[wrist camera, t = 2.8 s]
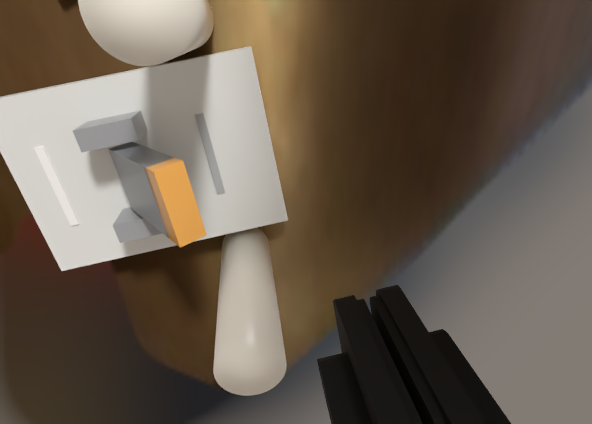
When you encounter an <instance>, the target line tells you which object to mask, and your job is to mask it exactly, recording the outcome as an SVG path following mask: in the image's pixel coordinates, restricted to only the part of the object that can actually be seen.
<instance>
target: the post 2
mask: <svg viewBox="0 0 592 424" xmlns="http://www.w3.org/2000/svg"><path fill="white" fill-rule="evenodd" d="M286 368H287V363H286V356H285V350H284V343H283V336H282V329H281V323H280V316H279V309H278V302H277V296H276V289H275V282H274V275H273V269H272V262H271V255H270V248H269V242H268V238H267V236H266V235H265V233H264V232H263V231H261V230H260V229H259V228H252V229H248V230H243V231H239V232H234V233H230V234H226V235H225V237H224V239H223V242H222V254H221V268H220V282H219V297H218V311H217V325H216V339H215V353H214V367H213V373H214V377H215V379H216V381H217V383H218V384H219V385H220V386H221V387H222V388H223V389H225V390H226V391H228V392H230V393H233V394H237V395H244V396H250V395H257V394H261V393H264V392H266V391H269V390H270V389H272V388H274V387H275V386H276V385H277V384H278V383H279V382H280V381H281V380H282V379H283V377H284V375H285V372H286Z"/></svg>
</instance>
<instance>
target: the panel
mask: <svg viewBox="0 0 592 424" xmlns="http://www.w3.org/2000/svg"><path fill="white" fill-rule="evenodd" d="M129 142H134V143H137V144H140V145H142V146H145V147H148V148H150V149H153V150H156V151H158V152H161V153H164V154H166V155H169V156H172V157H174V158H177V159H180V160H182V161H183V162H184V165H185V168H186V171H187V174H188V177H189V181H190V184H191V187H192V190H193V193H194V197H195V200H196V203H197V206H198V209H199V212H200V216H201V219H202V222H203V225H204V228H205V231H206V236H204V237H202V238H200V239H198V240H203V239H207V238H212V237H216V236H221V235H225V234H230V233H234V232H239V231H243V230H248V229H252V228H257V227H261V226H266V225H270V224H275V223H279V222H283V221H288V217H287V212H286V208H285V203H284V198H283V194H282V189H281V184H280V179H279V175H278V170H277V165H276V161H275V156H274V151H273V147H272V142H271V137H270V132H269V128H268V123H267V118H266V114H265V109H264V104H263V99H262V95H261V90H260V85H259V81H258V76H257V71H256V67H255V62H254V57H253V52H252V48H251V46H248V47H243V48H238V49H233V50H228V51H223V52H218V53H213V54H208V55H203V56H198V57H194V58H189V59H184V60H179V61H174V62H169V63H164V64H159V65H154V66H149V67H144V68H139V69H134V70H130V71H125V72H120V73H115V74H110V75H105V76H100V77H95V78H90V79H85V80H80V81H75V82H70V83H65V84H61V85H56V86H51V87H46V88H41V89H36V90H31V91H26V92H21V93H16V94H11V95H6V96H1V97H0V152H1V154H2V156H3V158H4V160H5V162H6V164H7V166H8V168H9V169H10V171H11V173H12V175H13V177H14V179H15V181H16V183H17V185H18V187H19V189H20V191H21V193H22V195H23V197H24V199H25V201H26V203H27V205H28V207H29V208H30V210H31V212H32V214H33V216H34V218H35V220H36V222H37V224H38V226H39V228H40V230H41V232H42V234H43V236H44V238H45V240H46V241H47V243H48V245H49V247H50V249H51V251H52V253H53V255H54V257H55V259H56V261H57V263H58V265H59V267H60V269H61V271H64V270H68V269H73V268H77V267H82V266H86V265H91V264H95V263H100V262H104V261H109V260H113V259H118V258H122V257H127V256H131V255H136V254H140V253H145V252H149V251H154V250H158V249H163V248H167V247H172V246H176V244H175V243H174V242H173V241H171V240H170V239H169V238H168V237H166V236H165V235H164V234H163V233H161V232H160V231H159V230H158V229H156V228H155V227H154V226H153V225H152V224H150V223H149V222H148V221H147V220H145V219H144V218H143V217H142V216H140V215H139V214H138V213H137V212H135V211H134V210H133V209H132V208H131V206H130V203H129V201H128V198H127V196H126V193H125V191H124V188H123V185H122V183H121V180H120V178H119V175H118V173H117V170H116V168H115V165H114V163H113V160H112V158H111V155H110V152H109V150H108V149H110V148H113V147H116V146H119V145H122V144H126V143H129ZM198 240H196V241H198ZM193 242H194V241H193Z"/></svg>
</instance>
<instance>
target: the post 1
mask: <svg viewBox="0 0 592 424" xmlns="http://www.w3.org/2000/svg"><path fill="white" fill-rule="evenodd" d="M78 4H79V9H80V13H81V16H82V19H83V21H84V24H85V26H86V28H87V29H88V31H89V33H90V34H91V36H92V37H93V39H94V40H95V41H96V42H97V43H98V44H99V45H100V46H101V47H102V48H103V49H104V50H105V51H106V52H108V53H109V54H110V55H112V56H113V57H115V58H117V59H119V60H121V61H123V62H126V63H129V64H133V65H138V66H152V65H158V64H161V63H164V62H166V61H169V60H171V59H173V58H176V57H178V56H180V55H183V54H185V53H187V52H190V51H192V50H194V49H197V48H199V47H201V46H202V45H203V44H205V43H206V42H207V41H208V39H209V38H210V36H211V34H212V31H213V27H214V15H213V11H212V8H211V5H210V3H209V2H208V0H78Z"/></svg>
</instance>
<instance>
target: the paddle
mask: <svg viewBox="0 0 592 424" xmlns="http://www.w3.org/2000/svg"><path fill="white" fill-rule="evenodd" d="M108 150H109V152H110V155H111V158H112V160H113V163H114V165H115V168H116V170H117V173H118V175H119V178H120V180H121V183H122V185H123V188H124V191H125V193H126V196H127V198H128V201H129V203H130V206H131V208H132V209H133V210H134V211H135V212H137V213H138V214H139V215H140V216H142V217H143V218H144V219H145V220H147V221H148V222H149V223H150V224H152V225H153V226H154V227H155V228H156V229H158V230H159V231H160V232H161V233H163V234H164V235H165V236H166V237H168V238H169V239H170V240H171V241H173V242H174V243H175V244H176V245H178V246H179V247H180V248H181V247H183V246H185V245H187V244H189V243H191V242H193V241H196V240H198V239H200V238H202V237H204V236H206V231H205V228H204V225H203V222H202V219H201V216H200V212H199V209H198V206H197V203H196V200H195V197H194V193H193V190H192V187H191V184H190V181H189V177H188V174H187V171H186V168H185V165H184V162H183V161H182V160H180V159H177V158H174V157H172V156H169V155H166V154H164V153H161V152H158V151H156V150H153V149H150V148H148V147H145V146H142V145H140V144H137V143H134V142H129V143H126V144H122V145H119V146H116V147H113V148H110V149H108Z"/></svg>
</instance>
